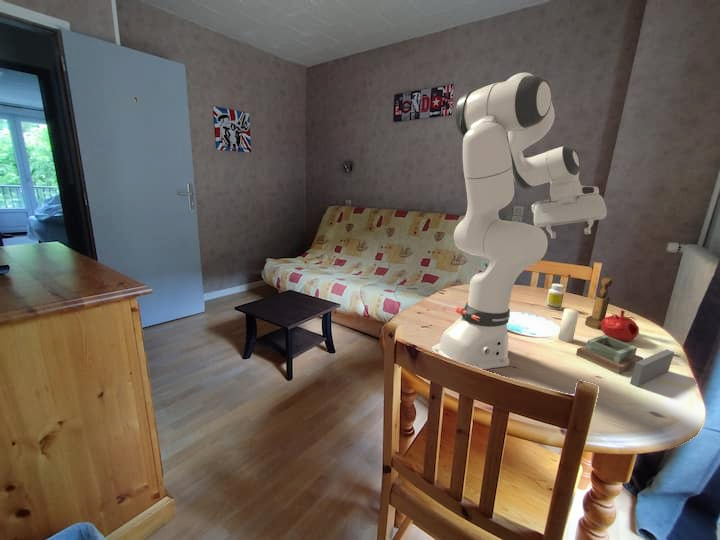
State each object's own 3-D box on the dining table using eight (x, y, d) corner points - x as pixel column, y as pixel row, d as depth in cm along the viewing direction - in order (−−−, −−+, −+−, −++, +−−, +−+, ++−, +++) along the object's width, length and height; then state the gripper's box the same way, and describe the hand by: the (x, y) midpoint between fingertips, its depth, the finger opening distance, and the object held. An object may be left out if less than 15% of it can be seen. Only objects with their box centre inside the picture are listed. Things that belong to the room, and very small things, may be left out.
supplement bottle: (563, 310, 128) (567, 287, 126) (548, 309, 129) (552, 286, 127) (557, 305, 134) (562, 283, 131) (543, 304, 135) (547, 282, 132)
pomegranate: (597, 338, 106) (602, 312, 103) (600, 328, 113) (605, 303, 111) (636, 347, 100) (642, 319, 97) (636, 336, 107) (642, 310, 105)
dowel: (567, 343, 101) (574, 314, 99) (555, 337, 105) (561, 309, 102) (575, 340, 103) (581, 312, 100) (563, 335, 106) (568, 307, 104)
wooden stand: (586, 327, 113) (597, 279, 108) (583, 320, 119) (593, 274, 114) (609, 331, 110) (621, 281, 106) (605, 324, 116) (616, 277, 111)
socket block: (618, 374, 85) (622, 357, 84) (576, 354, 94) (579, 339, 93) (641, 364, 90) (646, 348, 89) (599, 346, 100) (602, 332, 98)
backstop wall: (637, 386, 80) (643, 365, 78) (629, 383, 81) (635, 362, 79) (668, 371, 86) (674, 352, 85) (660, 368, 88) (666, 349, 86)
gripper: (530, 199, 110) (533, 237, 107) (604, 186, 99) (610, 228, 96) (531, 205, 115) (534, 242, 112) (602, 193, 104) (607, 234, 102)
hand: (570, 235), depth 104 cm, fingers open, 8 cm apart
